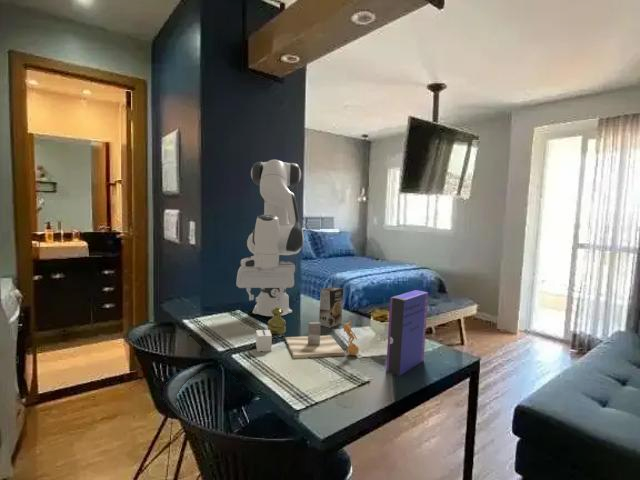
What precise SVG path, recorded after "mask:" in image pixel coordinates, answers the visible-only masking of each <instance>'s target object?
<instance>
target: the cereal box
mask: <svg viewBox="0 0 640 480" xmlns="http://www.w3.org/2000/svg"><path fill="white" fill-rule="evenodd" d="M428 299H429V292H427V291H424V290H417V289H416V290H415V289H414V290H412V291H408V292H404V293H401V294H399V295H393V296H392V297H390V299H389V311H388V312H389V315H388V316H389V317H388V329H387V330H388V332H387V333H388V334H387V345H386V346H387V347H386V348H387V349H386V351H387V352H386V366H385V372H386V373H389V374H392V375H395V376H398V377H400V376H402V375H404V374H405V373H407V372H409V371H410V370H412V369H413V368H415V367H416V366H418V365H419V364H421V363H422V362H424V360H425V348H426V347H425V344H426V331H427V313H428V311H427V310H428Z"/></svg>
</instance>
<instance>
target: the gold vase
mask: <svg viewBox="0 0 640 480" xmlns="http://www.w3.org/2000/svg"><path fill="white" fill-rule="evenodd" d="M271 312H272V313H273V314H274V316H272V317H271V318H270V319H268V320H267V325H268V326H267V327H266V328H267V330H270V332H271V335H272V334H281V335H284V334H286V329H287V327H286V324H287V322H286V320H285V319H284V318H283V317H282V316H280V315H281V314H282V313H283V310H282V309H280V308H275V309H272V310H271Z"/></svg>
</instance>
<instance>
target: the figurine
mask: <svg viewBox="0 0 640 480" xmlns="http://www.w3.org/2000/svg"><path fill="white" fill-rule="evenodd" d="M351 326H352V322H351V321H348V322H347V323H345V324H343V325H342V328H343V332H344V333H346V335H347V336H348V342H349V345H348V346H347V353H348V354H349V355H350V356H356V355H357V354H358V353H359V351H360V349H359V346H358V345H357V344H356V343H353V341H354V340H358V338H357V335H356V334H355V333H354V332H353V330H352V327H351Z"/></svg>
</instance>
